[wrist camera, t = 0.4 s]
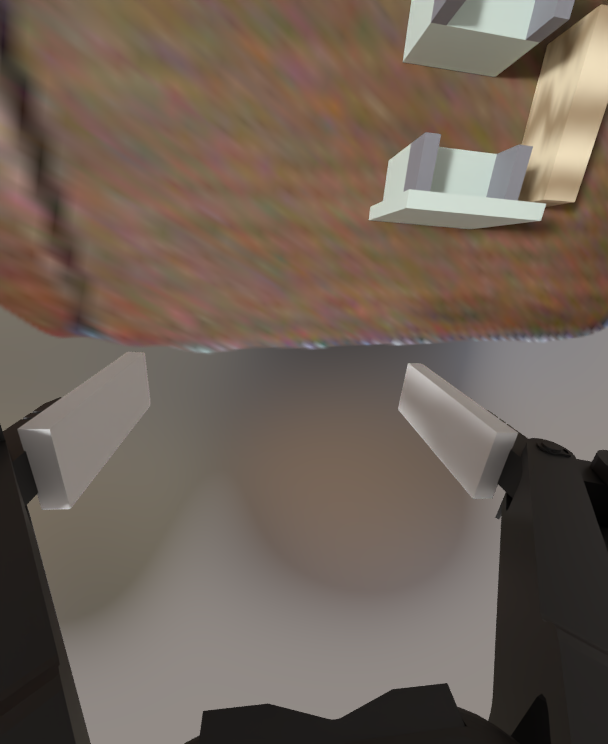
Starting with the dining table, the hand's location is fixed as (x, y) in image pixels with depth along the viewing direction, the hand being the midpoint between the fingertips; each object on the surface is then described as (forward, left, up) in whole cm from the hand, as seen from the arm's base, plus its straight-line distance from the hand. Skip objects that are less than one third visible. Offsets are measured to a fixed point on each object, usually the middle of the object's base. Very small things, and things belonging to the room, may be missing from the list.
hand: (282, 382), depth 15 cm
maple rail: (-22, +32, -27) cm, 47 cm away
